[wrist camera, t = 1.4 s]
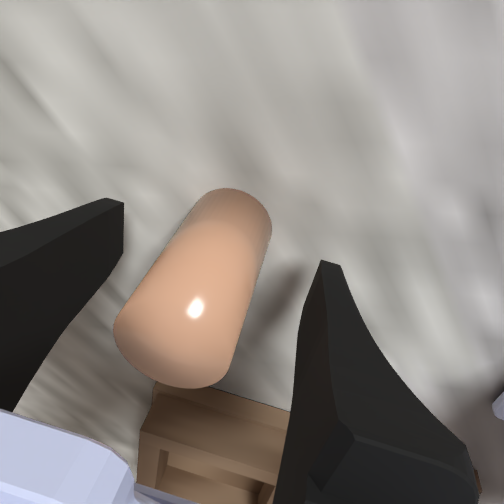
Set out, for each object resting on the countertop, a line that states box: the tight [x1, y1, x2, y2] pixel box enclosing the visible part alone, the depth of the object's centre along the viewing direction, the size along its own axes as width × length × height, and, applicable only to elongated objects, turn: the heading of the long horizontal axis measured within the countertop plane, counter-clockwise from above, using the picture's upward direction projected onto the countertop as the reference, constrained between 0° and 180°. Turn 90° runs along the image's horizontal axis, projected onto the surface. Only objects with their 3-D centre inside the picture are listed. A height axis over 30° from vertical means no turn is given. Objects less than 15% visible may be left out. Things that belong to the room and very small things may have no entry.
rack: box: [136, 381, 482, 504], centre depth 21 cm, size 16×8×3 cm, turn 78°
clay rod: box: [113, 188, 272, 389], centre depth 12 cm, size 3×3×6 cm
